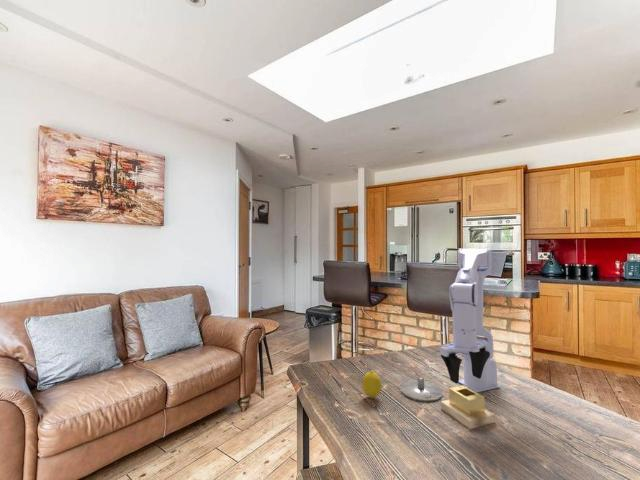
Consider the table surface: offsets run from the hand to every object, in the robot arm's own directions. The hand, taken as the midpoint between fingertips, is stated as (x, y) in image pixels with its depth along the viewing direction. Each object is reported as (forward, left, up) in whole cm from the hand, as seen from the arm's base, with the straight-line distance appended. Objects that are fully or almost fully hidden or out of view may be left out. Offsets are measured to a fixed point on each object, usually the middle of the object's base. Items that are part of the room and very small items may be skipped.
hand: (465, 379), depth 81 cm
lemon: (+19, -17, -10) cm, 27 cm away
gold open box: (0, 0, -8) cm, 8 cm away
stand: (0, 0, -10) cm, 10 cm away
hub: (+3, -15, -10) cm, 18 cm away
